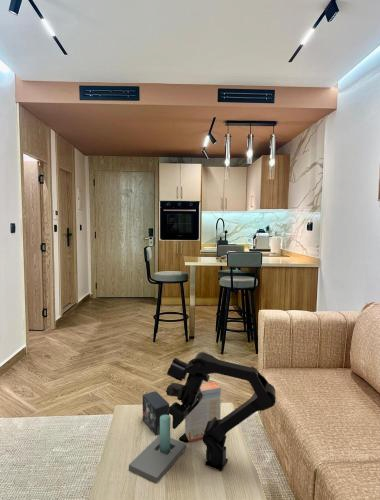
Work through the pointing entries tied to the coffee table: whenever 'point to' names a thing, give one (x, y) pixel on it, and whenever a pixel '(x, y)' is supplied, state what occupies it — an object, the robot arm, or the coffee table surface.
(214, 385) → the cracker box
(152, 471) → the socket plate
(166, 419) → the peg
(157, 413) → the small box
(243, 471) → the coffee table surface
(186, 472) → the coffee table surface
